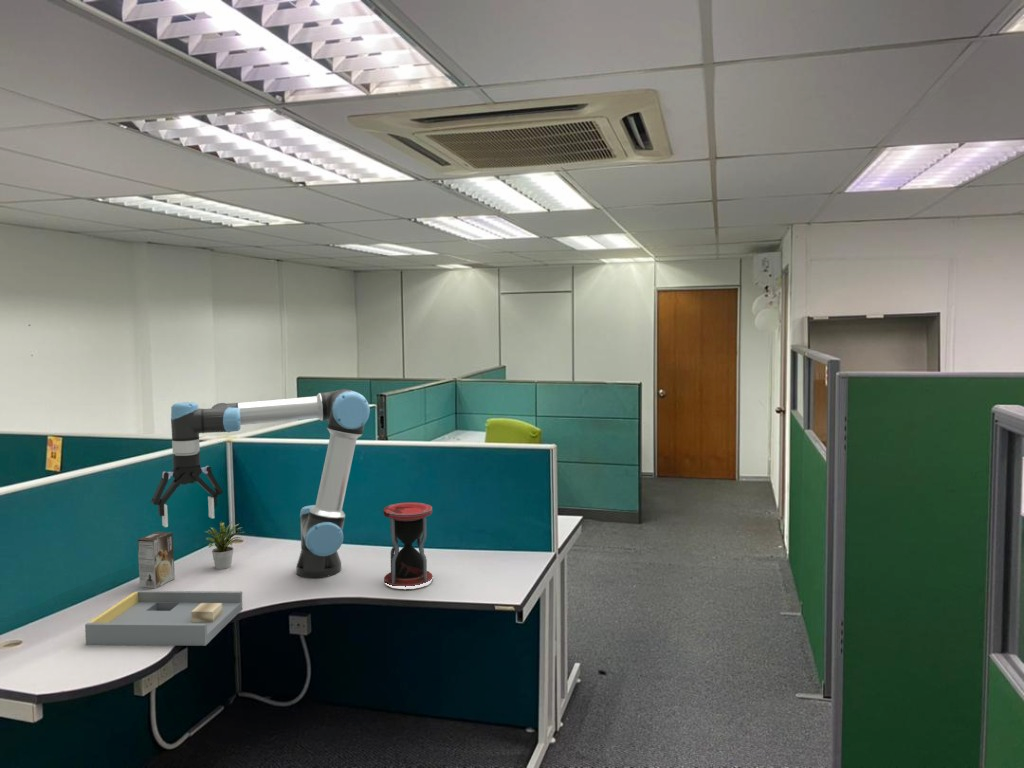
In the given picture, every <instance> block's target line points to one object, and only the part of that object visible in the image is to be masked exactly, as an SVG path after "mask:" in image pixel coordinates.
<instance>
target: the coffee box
mask: <svg viewBox="0 0 1024 768" xmlns="http://www.w3.org/2000/svg"><path fill="white" fill-rule="evenodd" d="M173 534H174V532H169V531H168V532H167V531H166V532H165V531H156V532H153V533H150V534H148V535H145V536H143V537H141V538H138V539H137V551H138V552H137V555H138V574H139V588H148V589H158V588H159V587H161V586H163V585H165V584H167V583H170V582H171V581H173V580H175V577H176V576H175V555H174V554H175V553H174V552H175V550H174V535H173Z"/></svg>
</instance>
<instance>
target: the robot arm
mask: <svg viewBox="0 0 1024 768" xmlns="http://www.w3.org/2000/svg"><path fill="white" fill-rule="evenodd" d="M170 408H171V409H170V411H171V413H170V414H171V415H170V422H171V423H170V425H171V426H170V427H171V428H170V429H171V446H172V447H171V449H172V454H173V455H172V471H165V470H163V471H162V472H161V479H160V480H159V483H158V486H157V487H156V490H155V491H154V494H153V496H152V497H151V501H150V503H151V504H153V505H155V506H156V505H157V509H158V511H157V512H158V516H159V517H162V518H161V522H162V523H161V525H162V526H163V528H168V527H169V515H168V505H167V504H166V503H167V502H168V501H169V499H170V498H171V496H172V495H173V493H174V492H175V491H176V490H177V489H178V488H179V487H180V485H188V484H194V483H197V484H198V485H199V486H200V487H201V488H202V489H203V490H204V491H205V492H207V493H208V494H209V495H210V496H207V502H208V503H207V505H208V518H210V519H215V507H217V506H218V501H217V500H218V497H219V496H220V495H222V494H223V493H224V491H223V489H222V487H221V485H220V484H219V482H218V481H217V479H216V478H215V476H214V474H213V471H212V470H213V469H212V467H211V466H209V465H205V466H204V467H201V454H200V453H199V452H200V449H201V448H200V447H201V446H200V434H208V433H209V434H210V433H232V432H238V431H240V430H241V427H242V426H246V425H257V424H268V423H279V422H291V421H301V420H313V419H318V420H319V421H321V422H325V421H328V422H327V426H326V429H327V430H328V432H329V440H328V444H327V449H326V454H325V460H324V463H323V469H322V472H321V479H320V483H319V487H318V492H317V497H316V500H315V504H312V505H311V504H310V505H306V506H304V507H303V506H302V508H301V509H300V514H299V517H300V538H301V539H300V546H301V547H300V553H299V557H298V560H297V563H296V566H295V567H296V569H295V570H296V575H297V576H299V575H300V577H302V578H308V577H318V578H325V577H324V576H326V577H329V576H328V575H330V576H333V575H335V573H336V574H338V573H339V572H340V571H341V570H342V561H341V557H340V555H339V552H338V550H339V549H340V548H341V547H342V545H343V541H344V531H343V529H344V525H345V521H346V519H345V518H346V514H345V512H344V511H343V507H344V506H343V505H344V502H345V498H346V491H347V486H348V482H349V478H350V473H351V468H352V464H353V463H352V462H353V460H354V459H353V457H354V454H355V453H354V452H355V449H356V444H357V441H358V440H357V439H359V438H361V437H362V436H363V434H364V429H365V426H366V425H365V424H366V423H367V421H368V420H369V417H370V412H371V409H370V405H369V402H368V400H367V398H366V397H365V396H364V395H363V394H362V393H359V392H357V391H354V390H352V389H349V388H342V389H338V390H334V391H327V392H318V394H317V395H314V396H303V397H302V396H301V397H292V398H291V397H289V398H278V399H267V400H254V401H245V402H243V401H241V402H231V403H229V402H227V403H226V402H217V403H216V404H214V405H213V406H212V407H211V408H200V407H199V404H198V402H194V401H193V402H192V401H191V402H189V401H187V402H186V401H185V402H184V401H183V402H176V403H174V404H172V405H171V407H170ZM202 473H203V474H205V476H206V478H207V479H208V481H209V482H210V484H211V485H212V488H211V487H210V486H209V485H208V484H207V483H206V482H205V481H204V480H203V479H202V477H200V476H201V474H202ZM171 477H173V478H174V479H173V480H172V481H171V484H170V485H169V486H168V488H167V489H166V486H167V485H168V482H169V480H170V479H171ZM165 489H166V490H165ZM213 489H214V490H213ZM164 490H165V492H164ZM163 492H164V493H163ZM337 572H338V573H337ZM332 574H333V575H332Z"/></svg>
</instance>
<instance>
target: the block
mask: <svg viewBox="0 0 1024 768" xmlns="http://www.w3.org/2000/svg"><path fill="white" fill-rule="evenodd" d="M221 614H222V603H201V604H200V605H198V606H197V607H196V608H195V609H194V610H192V611H191V620H192V622H214V621H215V620H216V619H217V618H218V617H219V616H220V615H221Z"/></svg>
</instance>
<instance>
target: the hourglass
mask: <svg viewBox="0 0 1024 768" xmlns="http://www.w3.org/2000/svg"><path fill="white" fill-rule="evenodd" d="M382 511H383V513H382V514H383V516H384V517H385V518H388V519H389V529H390V530H389V532H390V534H391V543H392V544H393V546H392V547H391V549H390V572H389V573H387V574H385V575H384V578H383V579H384V580H383V581H384V582H385V583H387V584H389V585H392V586H405V587H406V586H415V585H420V584H423V583H426V582H428V581H430V580H431V579H432V577H433V578H434V576H433V573H432V572H431V571H428V570H427V569H428V565H427V564H428V559H427V556H426V554H425V548H424V544H425V542H426V541H427V517H429V516H431V515H432V514H433V506H432V505H430V504H426V503H424V502H423V503H422V502H400V503H394V504H389V505H387V506H385V507H384V508H383V510H382ZM399 541H400V542H401V543H403V547H402V548H401V549H400V547H399ZM415 541H416V544H417V546H418V550H417V549H416V548H415V547H414V546H413V544H414V543H415Z"/></svg>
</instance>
